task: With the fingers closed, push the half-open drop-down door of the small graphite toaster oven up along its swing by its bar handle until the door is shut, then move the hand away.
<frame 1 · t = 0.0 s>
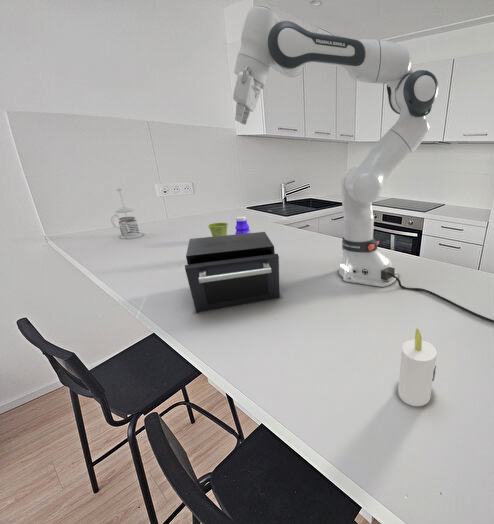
hand: (240, 122, 89), 52 cm above the breakfast bar, tool tilted 20°, fingers open, 8 cm apart
french press: (129, 236, 158), on the breakfast bar
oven: (237, 290, 100), on the breakfast bar
candle: (414, 394, 59), on the breakfast bar
bottle: (246, 256, 132), on the breakfast bar
oven door: (237, 287, 85), point 8 cm above the breakfast bar, hinge at 17.3°
plant pot: (220, 241, 152), on the breakfast bar
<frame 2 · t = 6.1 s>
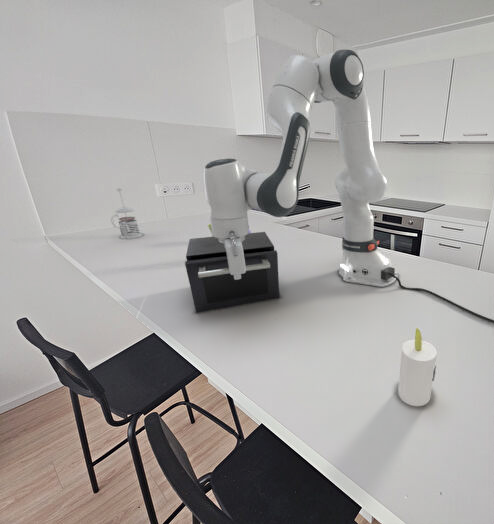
hand: (237, 277, 79), 12 cm above the breakfast bar, tool pointing down, fingers closed
oven door: (237, 284, 85), point 8 cm above the breakfast bar, hinge at 10.6°, touching gripper
everything else where it was.
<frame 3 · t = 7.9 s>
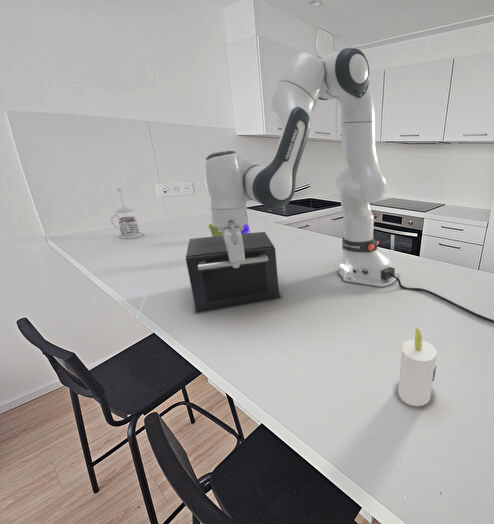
hand: (236, 267, 82), 14 cm above the breakfast bar, tool pointing down, fingers closed, pressing on oven door
oven door: (236, 281, 86), point 9 cm above the breakfast bar, hinge at -0.9°, touching gripper, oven
everything else where it was.
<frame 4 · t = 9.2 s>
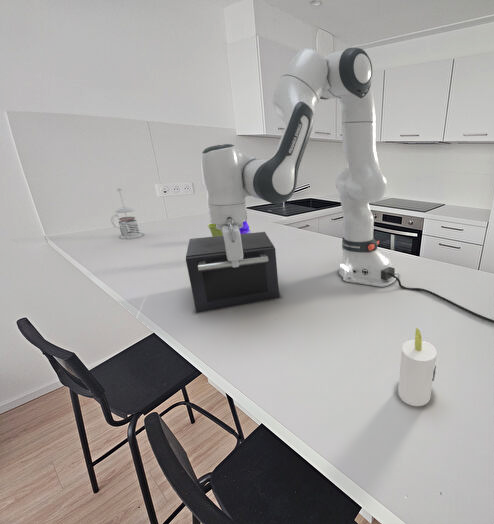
hand: (235, 265, 79), 16 cm above the breakfast bar, tool pointing down, fingers closed
oven door: (236, 281, 86), point 9 cm above the breakfast bar, hinge at -0.2°
everything else where it was.
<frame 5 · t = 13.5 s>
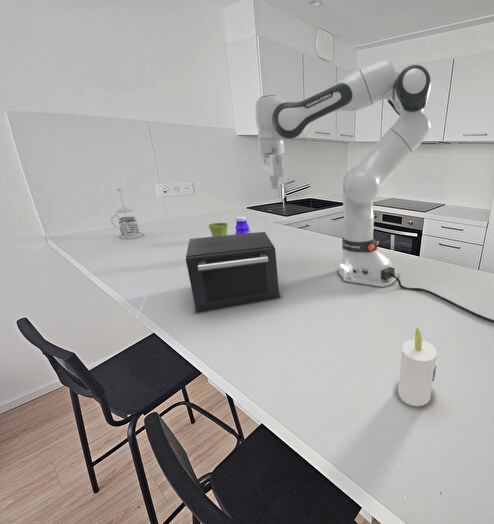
hand: (274, 188, 109), 31 cm above the breakfast bar, tool pointing down, fingers closed
nothing on the breakfast bar moved.
at the end: oven door at +0° (first picture: +17°) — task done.
